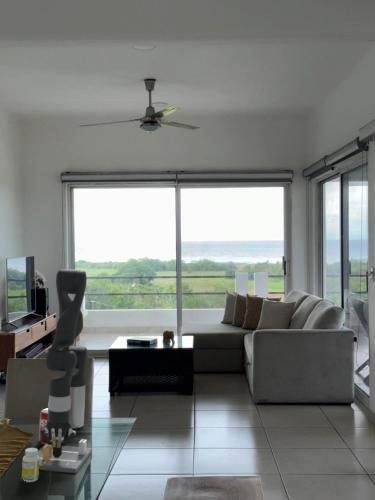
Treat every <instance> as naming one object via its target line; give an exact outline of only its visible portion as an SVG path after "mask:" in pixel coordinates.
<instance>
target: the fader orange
mask: <svg viewBox="0 0 375 500" xmlns="http://www.w3.org/2000/svg"><path fill="white" fill-rule="evenodd" d="M44 445H45V444H44ZM44 445H43V446H44ZM43 446H42V447H43ZM51 454H52V445H47V444H46V445H45V446H44V447H43V460H46V461H48V460H49V459H50V458H51Z"/></svg>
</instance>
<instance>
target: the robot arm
mask: <svg viewBox="0 0 375 500" xmlns="http://www.w3.org/2000/svg"><path fill="white" fill-rule="evenodd" d="M55 286H56V294H57V302H58V312H59V313H58V317H59V318H58V320H57V322H56V324H55V325H56V328H55V333H54V339H53V342H52V344H51V346H50V348H49V350H48V352H47V354H46V356H45V367H46V368H47V370H48V371H50V372H51V371H53V372H65V373H64V374H63V375H60V376H54V377H52V378H51V379H50V381H49V397H48V404H47V408H48V423H47V425H46V427H45V428H43V429H42V430H41V431H40V433H41V435H42V436H43V438H44V439H45V441H46V442H47V444H48V445H52V446H53V456H54V458H59V457H60V456H61V455H62V446H67V445H68V444H69V442H70V441H71V440H72V439H73V438H74V437H75V435H76V434H77V431H76V430H73V429H79V428H81V427H82V428H83V427H84V424H85V423H84V422H85V407H86V405H85V403H86V383H87V382H86V381H87V379H86V378H87V365H88V349H87V347H86V346H79V345H78V346H77V345H74V343H75V340H76V339H77V337H79V335H80V334H81V333H82V331H83V328H84V316H83V312H82V310H81V309H82V304H83V302H84V297H85V292H86V288H87V273H86V271H85V270H81V269H70V268H69V269H67V268H61V269H59V270H58V271H57V272H56V277H55ZM70 295H75V296H73V297H74V298H73V299H72V298H71V296H70ZM75 369H77V371H76V372H75ZM74 372H75V373H74ZM48 431H49V433H50V434H51V436H52V438H51V436H50V435H49V434H48ZM67 433H68V434H67ZM66 435H67V438H66V439H64V438H65V436H66Z"/></svg>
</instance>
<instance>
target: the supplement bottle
mask: <svg viewBox="0 0 375 500" xmlns="http://www.w3.org/2000/svg"><path fill="white" fill-rule="evenodd" d="M38 451H39V450H38V448H37V447H36V448H35V447H28V448H25V450H24V456H23V457H22V463H21V467H22V468H21V480H22V479H23V480H24V481H23V480H22V481H23V482H25V481H26V482H25V483H34V482H36V481H38V479H39V474H40V470H39V459H40V458H39V456H38V455H37V454H38Z"/></svg>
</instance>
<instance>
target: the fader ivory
mask: <svg viewBox="0 0 375 500" xmlns="http://www.w3.org/2000/svg"><path fill="white" fill-rule="evenodd" d="M87 443H88V440H87V439H85V438H83V439H82V438H81V439H80V441H78V447H79V452H78V455H84V454H85V453H86V448H88V447H87V446H88V444H87Z"/></svg>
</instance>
